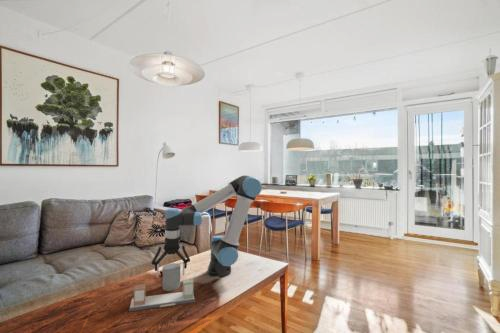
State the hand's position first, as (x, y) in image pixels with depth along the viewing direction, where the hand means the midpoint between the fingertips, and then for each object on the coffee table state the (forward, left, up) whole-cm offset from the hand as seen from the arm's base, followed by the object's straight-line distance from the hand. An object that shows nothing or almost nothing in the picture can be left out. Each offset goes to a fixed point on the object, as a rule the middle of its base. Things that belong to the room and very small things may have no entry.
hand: (170, 275), depth 144 cm
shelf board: (+4, +13, -8) cm, 15 cm away
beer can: (0, 0, -8) cm, 8 cm away
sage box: (-8, +13, -6) cm, 17 cm away
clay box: (+15, +13, -6) cm, 20 cm away
